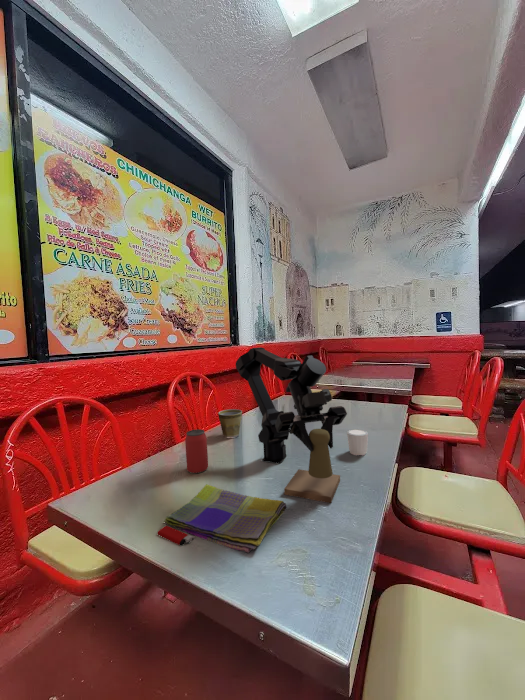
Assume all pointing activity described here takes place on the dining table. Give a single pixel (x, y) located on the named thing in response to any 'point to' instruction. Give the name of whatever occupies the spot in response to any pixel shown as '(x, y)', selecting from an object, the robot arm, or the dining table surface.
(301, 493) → the walnut board
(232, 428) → the ceramic cup
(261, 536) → the dish towel
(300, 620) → the dining table surface
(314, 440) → the olive brown peg figure
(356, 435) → the white cylinder
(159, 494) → the dining table surface
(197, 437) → the beer can
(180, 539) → the lighter
